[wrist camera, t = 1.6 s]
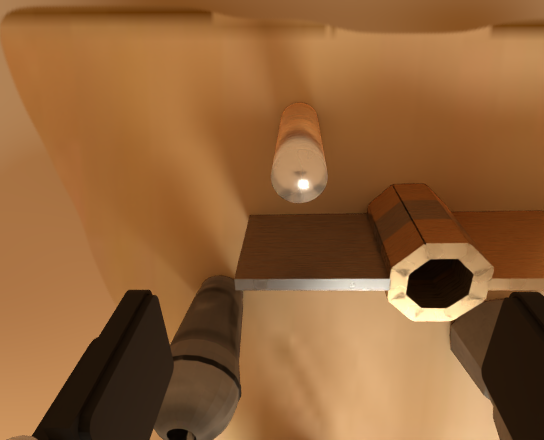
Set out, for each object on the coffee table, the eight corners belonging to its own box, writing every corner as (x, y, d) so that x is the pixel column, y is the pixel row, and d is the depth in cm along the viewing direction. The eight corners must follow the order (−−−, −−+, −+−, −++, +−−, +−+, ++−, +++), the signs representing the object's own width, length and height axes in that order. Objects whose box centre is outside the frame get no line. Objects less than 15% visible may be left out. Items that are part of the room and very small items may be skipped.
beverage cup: (203, 253, 37) (117, 465, 20) (268, 283, 38) (242, 508, 21) (177, 302, 40) (83, 521, 23) (238, 328, 42) (193, 555, 24)
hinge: (581, 180, 31) (686, 240, 23) (556, 247, 34) (641, 322, 26) (247, 187, 33) (229, 245, 25) (253, 249, 36) (239, 319, 28)
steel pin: (301, 146, 31) (303, 212, 21) (273, 124, 31) (259, 181, 20) (325, 118, 30) (339, 173, 20) (296, 94, 29) (294, 138, 19)
